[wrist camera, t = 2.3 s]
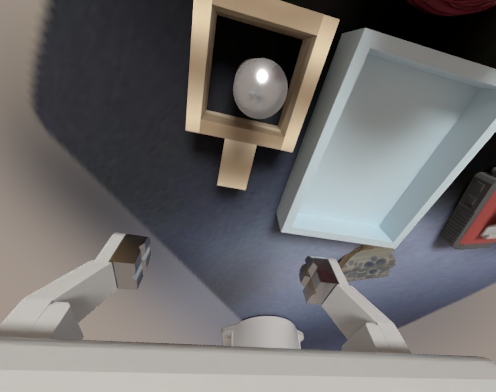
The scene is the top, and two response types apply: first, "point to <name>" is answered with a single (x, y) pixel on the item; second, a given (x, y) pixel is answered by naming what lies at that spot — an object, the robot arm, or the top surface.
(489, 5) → the canister
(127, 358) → the robot arm
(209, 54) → the wooden frame with handle
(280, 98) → the steel stake
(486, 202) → the walkie-talkie
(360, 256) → the ceramic fragment
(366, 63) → the plastic tray
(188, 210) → the top surface
